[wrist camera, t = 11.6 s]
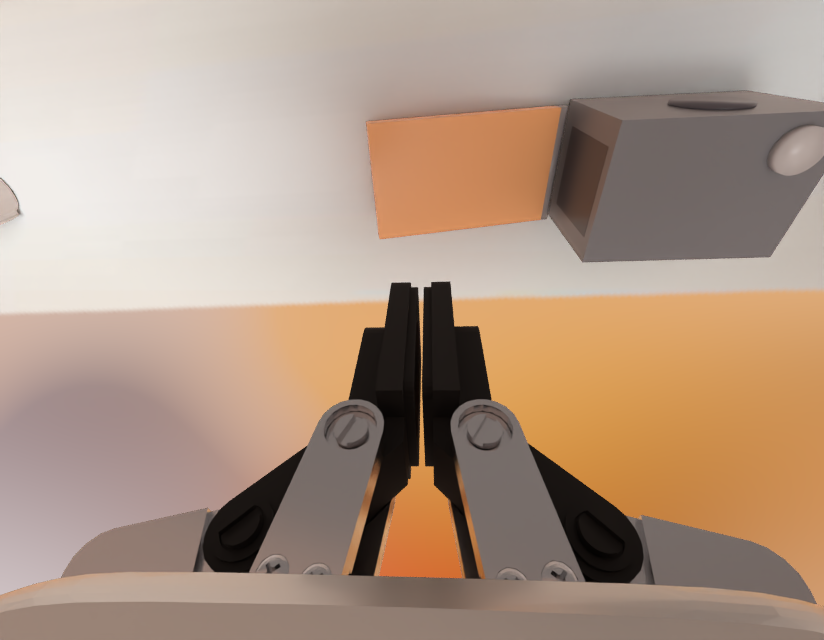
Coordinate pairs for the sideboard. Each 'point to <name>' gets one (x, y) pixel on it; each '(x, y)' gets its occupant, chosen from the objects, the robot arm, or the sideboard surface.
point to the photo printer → (7, 204)
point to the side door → (464, 169)
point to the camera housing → (685, 174)
